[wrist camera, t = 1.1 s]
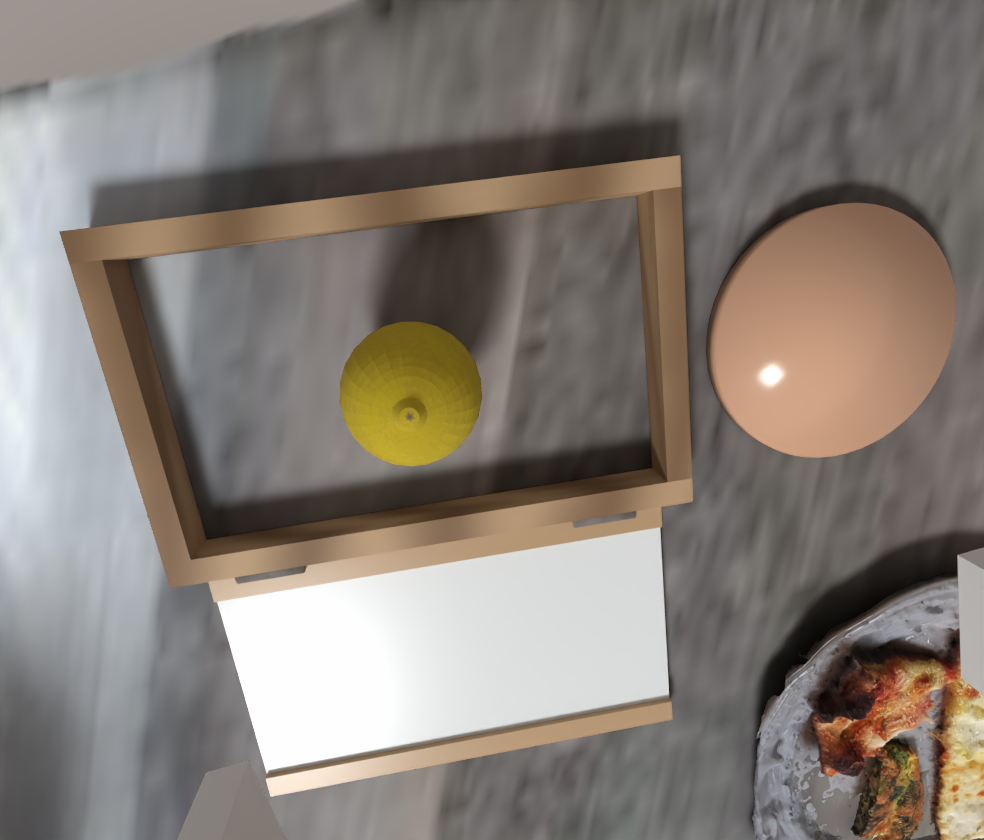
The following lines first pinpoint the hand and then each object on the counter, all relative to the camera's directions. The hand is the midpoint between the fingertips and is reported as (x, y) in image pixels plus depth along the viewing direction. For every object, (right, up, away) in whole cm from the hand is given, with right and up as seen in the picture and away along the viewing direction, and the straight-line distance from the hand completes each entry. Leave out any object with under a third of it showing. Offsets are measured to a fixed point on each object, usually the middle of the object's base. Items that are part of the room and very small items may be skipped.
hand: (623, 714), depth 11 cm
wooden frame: (-6, +7, +17) cm, 19 cm away
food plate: (+24, -14, +26) cm, 38 cm away
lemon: (-6, +8, +17) cm, 19 cm away
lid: (-4, -6, +21) cm, 22 cm away
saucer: (+14, +10, +18) cm, 25 cm away
